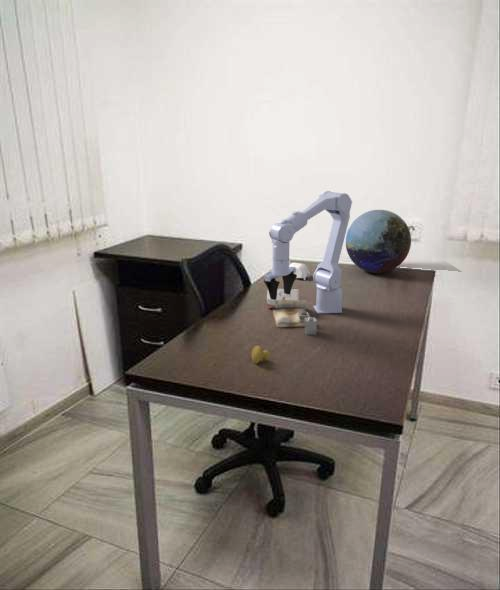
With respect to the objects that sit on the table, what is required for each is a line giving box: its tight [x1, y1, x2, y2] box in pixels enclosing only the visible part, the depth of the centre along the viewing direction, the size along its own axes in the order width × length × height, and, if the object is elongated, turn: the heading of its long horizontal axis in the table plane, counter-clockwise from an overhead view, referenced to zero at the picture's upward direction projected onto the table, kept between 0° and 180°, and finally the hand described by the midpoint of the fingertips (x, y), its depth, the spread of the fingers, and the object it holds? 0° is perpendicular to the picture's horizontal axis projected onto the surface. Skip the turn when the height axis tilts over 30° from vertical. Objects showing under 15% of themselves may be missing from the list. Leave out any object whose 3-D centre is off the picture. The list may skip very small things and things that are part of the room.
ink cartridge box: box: [266, 288, 307, 310], centre depth 175 cm, size 9×5×15 cm
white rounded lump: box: [289, 259, 312, 281], centre depth 217 cm, size 9×8×15 cm
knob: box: [251, 345, 269, 364], centre depth 136 cm, size 5×5×5 cm
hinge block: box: [303, 316, 318, 336], centre depth 156 cm, size 4×4×5 cm
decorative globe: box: [345, 209, 412, 274], centre depth 221 cm, size 30×30×30 cm
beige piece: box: [272, 309, 311, 328], centre depth 167 cm, size 12×14×5 cm
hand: (280, 296), depth 163 cm, fingers open, 7 cm apart
